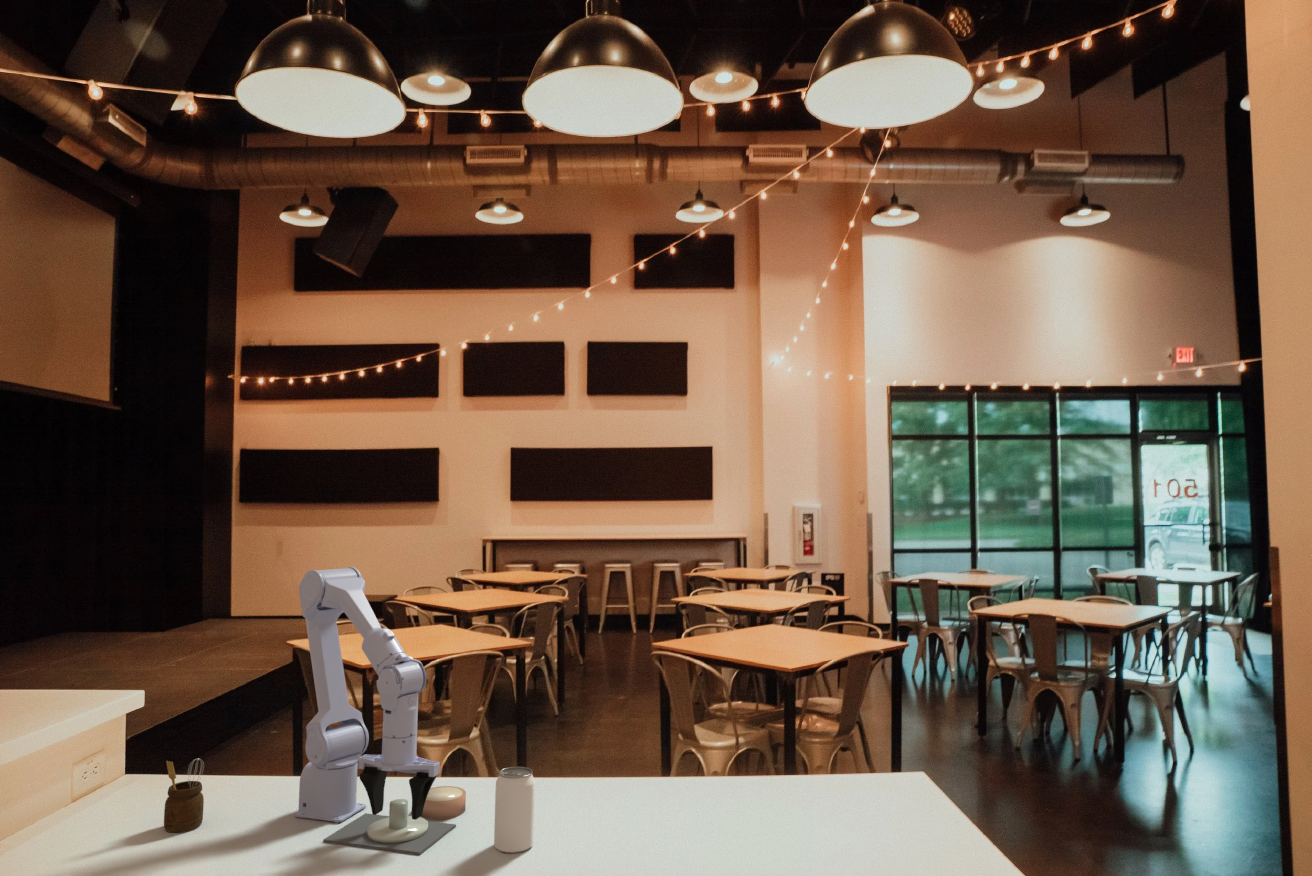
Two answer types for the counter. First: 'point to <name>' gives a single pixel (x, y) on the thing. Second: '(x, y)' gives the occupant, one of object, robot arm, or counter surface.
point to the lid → (397, 825)
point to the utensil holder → (183, 803)
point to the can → (514, 810)
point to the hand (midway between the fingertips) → (397, 814)
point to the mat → (358, 837)
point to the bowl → (444, 803)
